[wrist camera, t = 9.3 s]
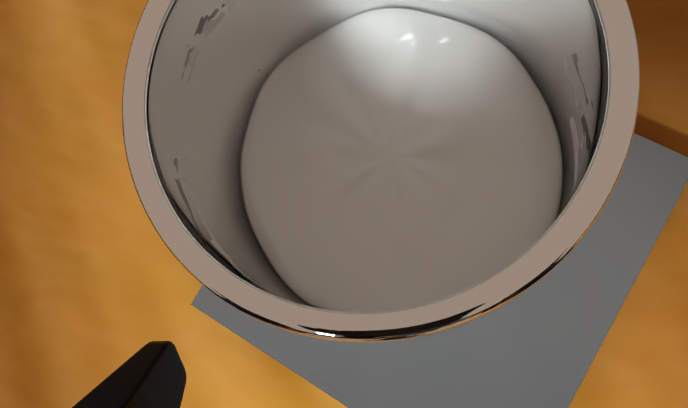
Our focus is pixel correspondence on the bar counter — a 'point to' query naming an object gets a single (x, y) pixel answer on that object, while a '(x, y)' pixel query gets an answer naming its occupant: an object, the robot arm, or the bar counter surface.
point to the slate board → (499, 318)
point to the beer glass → (377, 151)
